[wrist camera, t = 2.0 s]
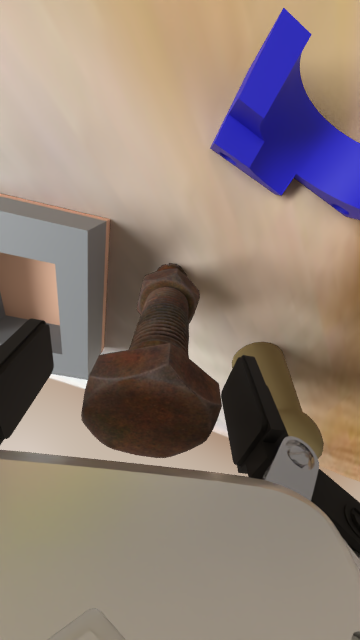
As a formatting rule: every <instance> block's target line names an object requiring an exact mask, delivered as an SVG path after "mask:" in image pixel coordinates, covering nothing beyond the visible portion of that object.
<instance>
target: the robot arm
mask: <svg viewBox="0 0 360 640" xmlns="http://www.w3.org/2000/svg"><path fill="white" fill-rule="evenodd" d="M53 368H54V362H53V353H52V344H51V336H50V327H49V325H48V324H46V322H45V321H44V320H38V319H32V318H31V319H29V320H28V321H26V322H25V323H24V324H23V325H22V326H21V327H20V328H19V329H18V330H17V331H16V332H15V333H14V334H13V335H12V336H11V337H10V338H8V339H7V340H6V341H5V342H4V343H3V344H1V345H0V444H1V443H2V441H3V440H4V439H7V438H9V437H10V436H11V434H12V433H13V431H14V430H15V428H16V427H17V425H18V424H19V422H20V421H21V419H22V417H23V416H24V415H25V413H26V411H27V410H28V408H29V407H30V405H31V404H32V402H33V401H34V399H35V398H36V396H37V394H38V393H39V391H40V390H41V389H42V387H43V385H44V384H45V382H46V381H47V379H48V378H49V376H50V375H51V373H52V371H53ZM221 398H222V404H223V409H224V414H225V420H226V425H227V431H228V436H229V441H230V446H231V452H232V458H233V462H234V464H235V465H237V468H238V472H239V473H246V474H248V476H249V477H245V476H237V475H229V474H222V473H215V472H206V471H197V470H188V469H179V468H171V467H162V466H153V465H144V464H134V463H125V462H116V461H107V460H97V459H88V458H78V457H68V456H58V455H49V454H39V453H30V452H18V451H6V450H0V640H360V503H359V502H358V501H357V500H356V499H354V498H353V497H352V496H351V495H350V494H349V493H347V492H346V491H345V490H344V489H343V488H341V487H340V486H339V485H338V484H337V483H335V482H334V481H333V480H332V479H331V478H329V477H328V476H327V475H326V474H325V473H324V472H322V471H321V470H320V469H319V462H318V458H317V456H316V454H315V452H314V451H313V450H312V448H311V447H310V446H309V445H308V444H307V443H305V442H304V441H303V440H301V439H299V438H297V437H294V436H289V435H288V433H287V431H286V428H285V426H284V423H283V421H282V419H281V416H280V414H279V411H278V409H277V407H276V404H275V402H274V399H273V397H272V395H271V392H270V390H269V388H268V386H267V385H266V383H265V381H264V378H263V376H262V373H261V371H260V369H259V366H258V364H257V361H256V359H255V357H253V356H247V355H242V356H241V357H238V359H237V361H236V363H235V365H234V367H233V369H232V371H231V373H230V375H229V377H228V379H227V382H226V384H225V386H224V388H223V390H222V394H221Z"/></svg>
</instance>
